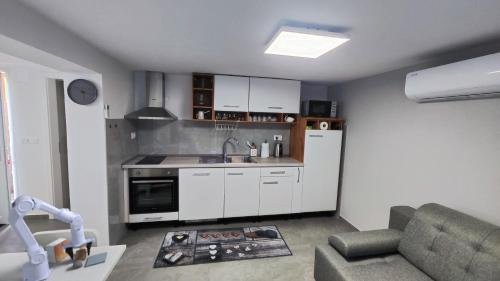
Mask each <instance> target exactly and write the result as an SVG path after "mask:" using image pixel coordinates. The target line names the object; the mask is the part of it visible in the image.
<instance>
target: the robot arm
mask: <svg viewBox="0 0 500 281" xmlns="http://www.w3.org/2000/svg"><path fill="white" fill-rule="evenodd" d="M38 210H41V211H43V212H45V213H49V214H52V215H54V218H55V219H56V220H58V221H60V222H63V223H66V224H70V235H71V242H69V243H68V244H65V245H63V250H64V249H65V252H66V253H67V254H68V256H69V258H70V259H71V261H73V260H74V259H75V253H74V248H78V247H80V246H84V245H85V246H86V248H87V253H86V255H87V257H89V256H91V249H92V248H91V247H92V245H93V243H95V237H93V238H86V237H85V231H84V230H85V229H84V226H83V224H84V219H83V217H82V216H81V215H80V214H79V213H78V212H73V211H70V209H69V208H64V207H63V208H57V207H56V206H54V205H51V204H49V203H47V202H46V201H43V200H41V199H39V198H36V197H33V196H30V195H27V194H22V195H20V196H18V197H16V198H15V199H14V201H12V203H11V207H10V209H9V212H8V215H7V222H8V224H9V225H10V226H11V228H12V230H13V232H14V233H15V235H16V236H17V237H18V239H19V242H21V244H22V245H23V248H24V249H25V251H26V253H27V256H28V259H29V261H28V262H27V263H24V264H23V266H22V268H21V276H22V281H43V280H44V281H45V280H47V279H48V278H49V277H50V275H51V274H52V272H53V268H50V267H49V266H50V265H49V262H48V257H47V252H46V251H45V248H44V246H42V245H41V244H39V242H38V241H37V240H36V239H35V237H34V235H33V233H32V232H31V230H30V228H29V227H28V224H27V223H26V221H25V220H24V217H25V216H26V215H27V213H28V212H30V211H38Z"/></svg>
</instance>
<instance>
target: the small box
mask: <svg viewBox="0 0 500 281" xmlns="http://www.w3.org/2000/svg"><path fill="white" fill-rule="evenodd" d="M65 244H68V239H67V238H64V237H59V238H58V239H56V240H53V241H52V242H50V243H49V244H47V245H45V248H46V256H47V259H48V263H52V264H57V263H59V262H60V261H62V260H63V259H64V258H66V257H68V256H69V255H68V254H67V253H66V252H65V249H64V250H63V245H65Z"/></svg>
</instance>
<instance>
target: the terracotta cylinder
mask: <svg viewBox="0 0 500 281" xmlns="http://www.w3.org/2000/svg"><path fill="white" fill-rule="evenodd" d="M85 248H86V245H82V246H81V247H80V248H79V249H78V250H81V249H85ZM86 254H87V248H86Z"/></svg>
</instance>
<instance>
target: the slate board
mask: <svg viewBox="0 0 500 281" xmlns="http://www.w3.org/2000/svg"><path fill="white" fill-rule="evenodd" d="M107 255H108V251H106V252H101V253H97V254H93V255H89V256H88V259H87V260H86V264H85V268H87V267H91V266H95V265H99V264H104V263H105V262H106V260H107V259H106V258H107Z"/></svg>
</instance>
